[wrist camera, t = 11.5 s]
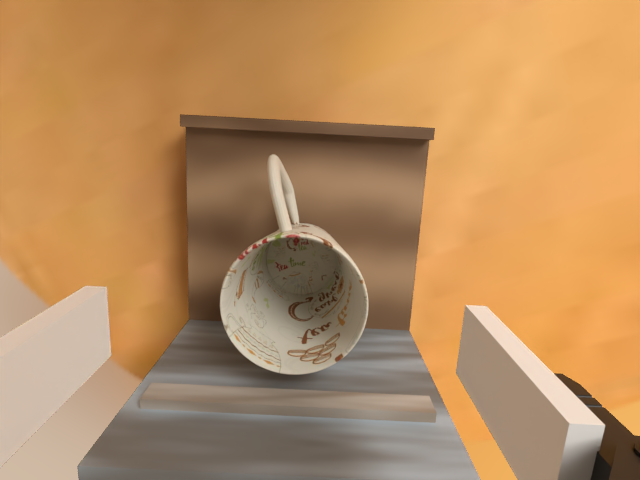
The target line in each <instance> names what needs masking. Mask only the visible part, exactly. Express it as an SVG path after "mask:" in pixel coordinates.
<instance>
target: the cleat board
mask: <svg viewBox="0 0 640 480" xmlns="http://www.w3.org/2000/svg"><path fill="white" fill-rule="evenodd" d="M180 126H182V127H186V176H187V232H188V288H189V320H188V322H187V323H186V324H185V326H184V327H183V328H182V330H181V331H180V332H179V334H178V335H177V336H176V338H175V339H174V340H173V341H172V343H171V344H170V345H169V347H168V348H167V349H166V351H165V352H164V353H163V355H162V356H161V357H160V359H159V360H158V361H157V362H156V364H155V365H154V366H153V368H152V369H151V370H150V372H149V373H148V374H147V376H146V377H145V378H144V380H143V381H142V382H141V383H140V385H139V386H138V387H137V389H136V390H135V391H134V393H133V394H132V395H131V397H130V398H129V399H128V401H127V402H126V403H125V405H124V406H123V407H122V408H121V410H120V411H119V413H118V414H117V415H116V416H115V418H114V419H113V420H112V422H111V423H110V424H109V425H108V427H107V428H106V429H105V431H104V432H103V433H102V435H101V436H100V437H99V439H98V440H97V441H96V442H95V444H94V445H93V447H92V448H91V449H90V450H89V452H88V453H87V454H86V456H85V457H84V458H83V460H82V461H81V462H80V463H79V465H78V476H79V480H480V477H479V475H478V473H477V471H476V469H475V467H474V465H473V463H472V461H471V459H470V457H469V455H468V452H467V450H466V448H465V446H464V444H463V442H462V440H461V438H460V436H459V434H458V432H457V429H456V427H455V425H454V423H453V421H452V419H451V417H450V415H449V413H448V411H447V409H446V406H445V404H444V402H443V400H442V398H441V396H440V394H439V392H438V390H437V388H436V386H435V383H434V381H433V379H432V377H431V375H430V373H429V371H428V369H427V367H426V365H425V363H424V360H423V358H422V356H421V354H420V352H419V350H418V348H417V346H416V344H415V342H414V340H413V337H412V335H411V333H410V331H409V328H410V318H411V309H412V299H413V290H414V280H415V271H416V261H417V252H418V242H419V233H420V223H421V214H422V205H423V195H424V186H425V176H426V167H427V157H428V148H429V140H434V131H435V128H423V127H405V126H386V125H367V124H348V123H330V122H311V121H292V120H274V119H255V118H236V117H217V116H199V115H180ZM272 154H273V155H276V156H278V157H279V159H280V160H281V162H282V164H283V166H284V168H285V170H286V172H287V174H288V176H289V178H290V181H291V183H292V186H293V189H294V194H295V199H296V205H297V210H298V216H299V223H307V224H312V225H315V226H318V227H320V228H322V229H323V230H325V231H326V232H327V233H328V234H330V235H331V236H332V238H333V239H334V240H335V241H336V242H337V243H338V244H339V245H340V246H341V247H342V248H343V250H344V251H345V252H346V253H347V254H348V255H349V256H350V257H351V259H352V260H353V261H354V263H355V264H356V266H357V267H358V269H359V270H360V272H361V274H362V277H363V279H364V282H365V285H366V288H367V293H368V316H367V321H366V325H365V328H364V330H363V333H362V335H361V337H360V339H359V340H358V342H357V343H356V345H355V346H354V347H353V349H352V350H351V351H350V352H349V353H348V354H347V355H346V356H345V357H344V358H342V359H341V360H340V361H338V362H337V363H335V364H334V365H332V366H330V367H328V368H326V369H323V370H320V371H317V372H313V373H309V374H300V375H289V374H281V373H277V372H273V371H270V370H267V369H265V368H262V367H260V366H258V365H256V364H255V363H253V362H252V361H250V360H249V359H247V358H246V357H245V356H244V355H243V354H242V353H241V352H239V350H238V349H237V348H236V347H235V346H234V344H233V343H232V342H231V340H230V338H229V337H228V335H227V333H226V331H225V328H224V326H223V323H222V318H221V314H220V294H221V288H222V284H223V281H224V278H225V276H226V274H227V272H228V270H229V268H230V267H231V265H232V264H233V262H234V261H235V260H236V259H237V257H238V256H239V255H240V254H241V253H242V252H243V251H244V250H246V249H247V248H248V247H249V246H251V245H252V244H254V243H255V242H257V241H259V240H260V239H262V238H264V237H266V236H268V235H270V234H272V233H274V232H276V231H277V230H279V225H278V221H277V218H276V214H275V210H274V206H273V202H272V198H271V193H270V188H269V182H268V172H267V162H268V158H269V156H270V155H272ZM285 203H286V201H285ZM286 207H287V205H286ZM287 211H288V208H287ZM288 215H289V219H290V222H291V224H293V223H292V220H291V217H290V214H289V211H288Z"/></svg>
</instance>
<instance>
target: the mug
mask: <svg viewBox="0 0 640 480" xmlns="http://www.w3.org/2000/svg"><path fill="white" fill-rule="evenodd" d="M267 172H268V182H269V188H270V193H271V198H272V202H273V206H274V210H275V214H276V218H277V221H278V225H279V230H277V231H276V232H274V233H272V234H270V235H268V236H266V237H264V238H262V239H260V240H259V241H257V242H255V243H254V244H252V245H251V246H249V247H248V248H247V249H246V250H244V251H243V252H242V253H241V254H240V255H239V256H238V257H237V259H236V260H235V261H234V262H233V264H232V265H231V267H230V268H229V270H228V272H227V274H226V276H225V278H224V281H223V284H222V288H221V294H220V314H221V318H222V323H223V326H224V328H225V331H226V333H227V335H228V337H229V338H230V340H231V342H232V343H233V344H234V346H235V347H236V348H237V349H238V350H239V352H241V353H242V354H243V355H244V356H245V357H246V358H247V359H249V360H250V361H252V362H253V363H255V364H256V365H258V366H260V367H262V368H265V369H267V370H270V371H273V372H277V373H281V374H289V375H300V374H309V373H313V372H317V371H320V370H323V369H326V368H328V367H330V366H332V365H334V364H335V363H337V362H338V361H340V360H341V359H342V358H344V357H345V356H346V355H347V354H348V353H349V352H350V351H351V350H352V349H353V347H354V346H355V345H356V343H357V342H358V340H359V339H360V337H361V335H362V333H363V330H364V328H365V325H366V321H367V316H368V293H367V288H366V285H365V282H364V279H363V277H362V274H361V272H360V270H359V269H358V267H357V266H356V264H355V263H354V261H353V260H352V259H351V257H350V256H349V255H348V254H347V253H346V252H345V251H344V250H343V248H342V247H341V246H340V245H339V244H338V243H337V242H336V241H335V240H334V239H333V238H332V236H331V235H330V234H328V233H327V232H326V231H325V230H323V229H322V228H320V227H318V226H315V225H312V224H307V223H299V216H298V210H297V205H296V199H295V194H294V189H293V186H292V183H291V181H290V178H289V176H288V174H287V172H286V170H285V168H284V166H283V164H282V162H281V160H280V159H279V157H278V156H276V155H273V154H272V155H270V156H269V158H268V162H267ZM285 201H286V203H285ZM286 205H287V207H286ZM287 208H288V211H289V214H290V217H291V220H292V223H293V224H291V222H290V219H289V215H288V211H287Z"/></svg>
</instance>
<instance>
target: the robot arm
mask: <svg viewBox="0 0 640 480" xmlns="http://www.w3.org/2000/svg"><path fill="white" fill-rule="evenodd" d="M110 356H111V344H110V329H109V314H108V300H107V287H100V286H84V287H83V288H81V289H79V290H78V291H76V292H74V293H73V294H71V295H70V296H68V297H66V298H65V299H63V300H61V301H60V302H58V303H56V304H55V305H53V306H51V307H50V308H48V309H46V310H45V311H43V312H41V313H40V314H38V315H37V316H35V317H33V318H31V319H30V320H28V321H26V322H25V323H23V324H22V325H20V326H18V327H17V328H15V329H13V330H12V331H10V332H8V333H7V334H5V335H3V336H2V337H1V338H0V467H1V466H2V465H3V464H4V463H5V462H6V461H7V460H8V459H9V458H10V457H11V456H12V455H13V454H14V453H15V452H16V451H17V450H18V449H19V448H20V447H21V446H22V445H23V444H24V443H25V442H26V441H27V440H28V439H29V438H30V437H31V436H32V435H33V434H34V433H35V432H36V431H37V430H38V429H39V428H40V427H41V426H42V425H43V424H44V423H45V422H46V421H47V420H48V419H49V418H50V417H51V416H52V415H53V414H54V413H55V412H56V411H57V410H58V409H59V408H60V407H61V406H62V405H63V404H64V403H65V402H66V400H68V399H69V398H70V397H71V396H72V395H73V394H74V393H75V392H76V391H77V390H78V389H79V388H80V387H81V386H82V385H83V384H84V383H85V382H86V381H87V380H88V379H89V378H90V376H92V374H93V373H94V372H96V370H98V369H99V367H101V365H103V364H104V362H105V361H106V360H107V359H108V358H109V357H110ZM456 374H457V375H458V377H459V379H460V381H461V382H462V384H463V386H464V388H465V389H466V391H467V393H468V394H469V396H470V398H471V400H472V401H473V403H474V405H475V407H476V408H477V410H478V412H479V413H480V415H481V417H482V419H483V420H484V422H485V424H486V426H487V427H488V429H489V431H490V432H491V434H492V436H493V438H494V439H495V441H496V443H497V445H498V446H499V448H500V450H501V451H502V453H503V455H504V456H505V458H506V460H507V462H508V464H509V465H510V467H511V469H512V470H513V472H514V474H515V476H516V477H517V479H518V480H640V436H634V435H633V434H632V433H631V432H630V431H629V430H628V429H627V428H626V427H624V426H623V425H622V424H621V423H620V422H619V421H618V420H617V419H616V418H615V417H614V416H613V415H612V414H611V413H609V411H607V410H606V409H605V408H602V405H601V404H600V403H599V402H598V401H597V400H596V399H595V398H592V395H590V394H589V393H588V392H587V391H586V390H585V389H584V388H583V387H582V386H581V385H580V384H578V383H577V382H575V381H573V380H572V379H570V378H568V377H566V376H565V375H563V374H555V373H553V372H552V371H551V370H550V369H549V368H548V367H547V366H546V365H545V364H544V363H543V362H542V361H541V360H540V359H539V358H538V357H537V356H536V355H535V354H534V353H533V352H532V351H531V350H530V349H529V348H528V347H527V346H526V345H525V344H524V343H523V342H522V341H521V340H520V339H519V338H518V337H517V336H516V335H515V334H514V333H513V332H512V331H511V330H510V329H509V328H508V327H507V326H506V325H505V324H504V323H503V322H502V321H501V320H500V319H499V318H498V317H497V316H496V315H495V314H494V313H493V312H492V311H491V310H490V309H489V308H488V307H487V306H474V305H465V312H464V319H463V326H462V333H461V340H460V348H459V355H458V362H457V369H456Z"/></svg>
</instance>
